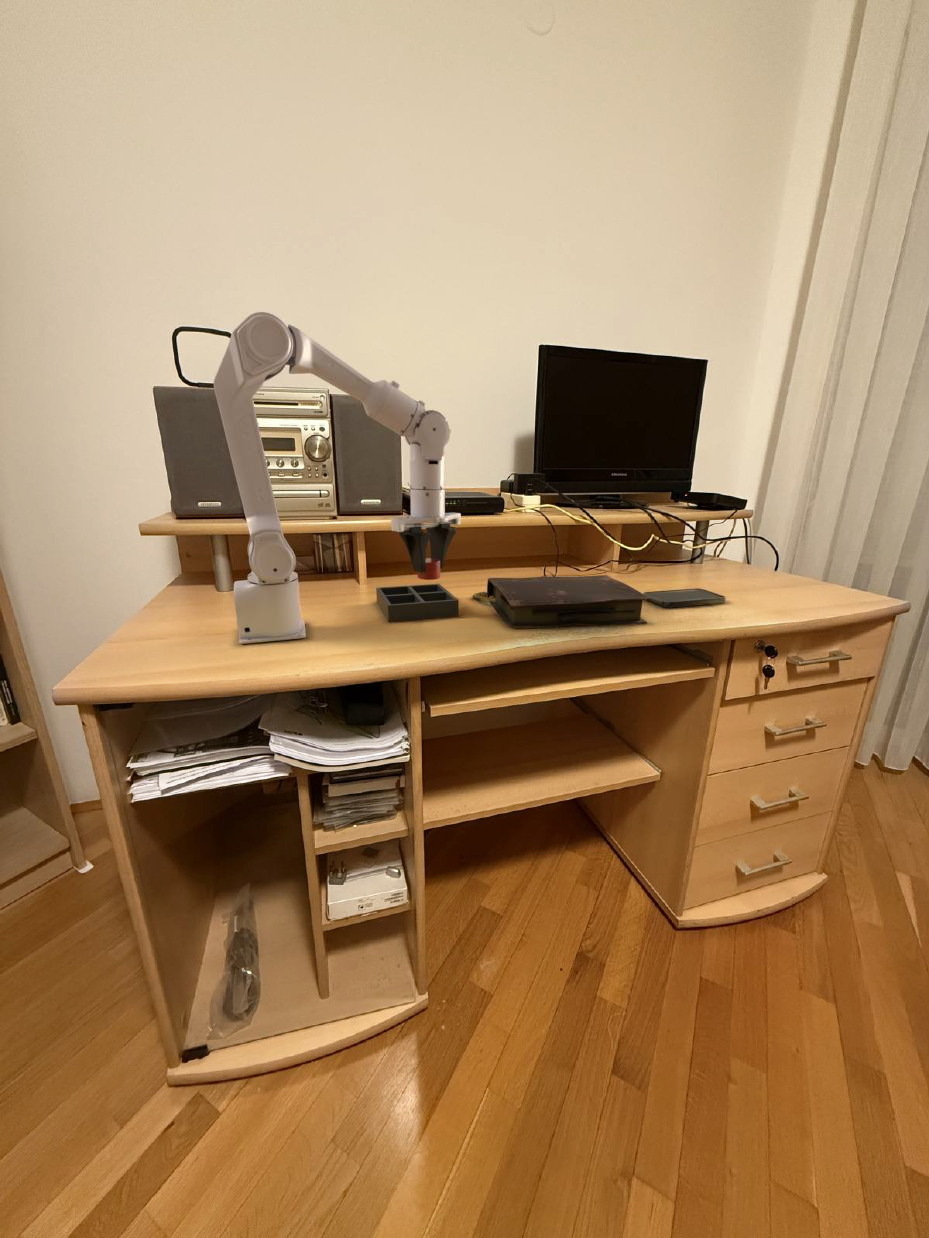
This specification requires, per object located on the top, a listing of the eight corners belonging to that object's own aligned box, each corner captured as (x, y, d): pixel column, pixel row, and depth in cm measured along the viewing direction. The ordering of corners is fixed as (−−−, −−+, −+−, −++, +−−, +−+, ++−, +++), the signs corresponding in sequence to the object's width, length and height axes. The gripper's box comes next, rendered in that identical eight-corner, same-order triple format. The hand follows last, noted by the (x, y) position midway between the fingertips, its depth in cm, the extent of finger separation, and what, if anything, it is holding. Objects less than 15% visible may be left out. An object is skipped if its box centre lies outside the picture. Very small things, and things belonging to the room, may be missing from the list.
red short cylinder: (420, 580, 83) (420, 563, 82) (415, 575, 87) (414, 558, 86) (443, 579, 85) (443, 562, 84) (436, 574, 88) (436, 557, 87)
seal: (469, 612, 95) (547, 614, 93) (469, 590, 93) (548, 591, 91) (474, 595, 104) (546, 597, 102) (474, 574, 102) (547, 575, 100)
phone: (641, 592, 101) (700, 588, 106) (640, 597, 102) (699, 593, 106) (666, 602, 94) (728, 597, 98) (665, 608, 95) (727, 602, 99)
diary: (486, 599, 98) (487, 575, 96) (602, 595, 102) (605, 572, 101) (510, 632, 81) (512, 603, 79) (649, 626, 85) (653, 599, 83)
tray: (388, 622, 84) (387, 605, 83) (376, 602, 95) (376, 587, 95) (458, 616, 88) (458, 600, 87) (439, 597, 99) (439, 583, 98)
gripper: (411, 492, 73) (413, 580, 78) (474, 488, 84) (472, 566, 88) (381, 489, 78) (384, 573, 82) (444, 486, 88) (444, 561, 93)
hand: (428, 569), depth 85 cm, fingers closed on red short cylinder, 4 cm apart
